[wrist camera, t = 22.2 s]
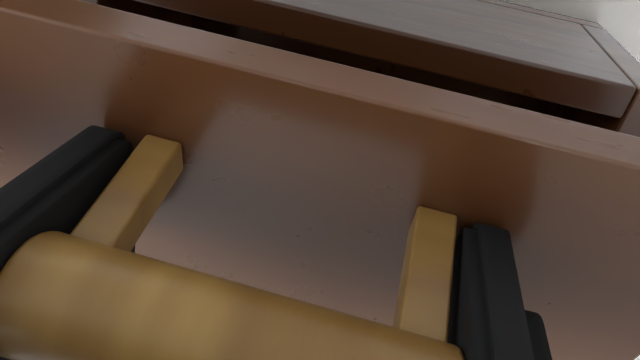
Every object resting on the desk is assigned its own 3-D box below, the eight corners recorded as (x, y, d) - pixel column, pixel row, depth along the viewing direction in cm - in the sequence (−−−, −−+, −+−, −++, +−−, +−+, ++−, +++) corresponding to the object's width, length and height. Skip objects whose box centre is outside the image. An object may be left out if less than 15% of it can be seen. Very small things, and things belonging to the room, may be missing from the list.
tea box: (183, -72, 19) (65, -48, 13) (600, 23, 17) (676, 97, 12) (171, 275, 27) (97, 382, 22) (448, 354, 26) (448, 490, 20)
